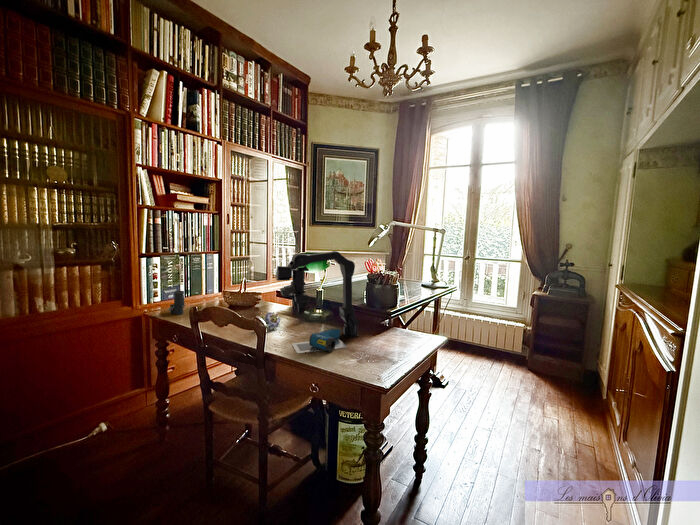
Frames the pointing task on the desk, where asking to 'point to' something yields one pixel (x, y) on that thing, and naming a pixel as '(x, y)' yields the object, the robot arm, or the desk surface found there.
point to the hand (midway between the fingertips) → (297, 311)
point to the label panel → (306, 347)
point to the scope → (177, 303)
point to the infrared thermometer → (325, 339)
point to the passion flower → (272, 320)
